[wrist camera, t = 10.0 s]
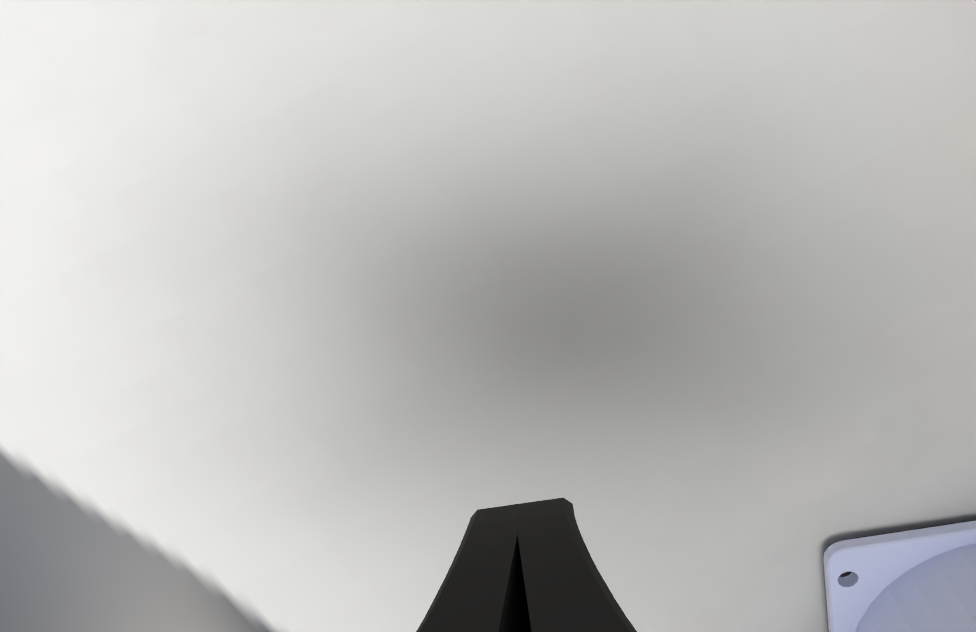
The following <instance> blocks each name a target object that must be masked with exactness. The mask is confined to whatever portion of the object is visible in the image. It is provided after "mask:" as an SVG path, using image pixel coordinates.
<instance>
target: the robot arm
mask: <svg viewBox="0 0 976 632" xmlns="http://www.w3.org/2000/svg"><path fill="white" fill-rule="evenodd" d="M823 560H824V573H825V587H826V600H827V614H828V627H829V632H976V521H969V522H963V523H956V524H949V525H943V526H936V527H929V528H923V529H916V530H909V531H903V532H896V533H889V534H883V535H876V536H869V537H863V538H856V539H849V540H843V541H839V542H836V543H834V544H832V545H831V546H829V547H828V548H827V550H826V551H825V553H824V558H823ZM847 571H850V572H852V573H850V574H849V575H848V576H845V577H839V576H840V575H841V574H842V573H844V572H847ZM416 632H637V631H636V630H635V629H634V627H633V626H632V624H631V623H630V621H629V620H628V619H627V617H626V616H625V614H624V613H623V611H622V609H621V608H620V606H619V605H618V603H617V602H616V600H615V599H614V597H613V595H612V593H611V592H610V590H609V588H608V587H607V585H606V583H605V581H604V580H603V578H602V576H601V575H600V573H599V571H598V569H597V568H596V566H595V564H594V562H593V560H592V558H591V556H590V554H589V552H588V550H587V547H586V545H585V543H584V541H583V539H582V536H581V534H580V531H579V529H578V526H577V523H576V520H575V516H574V510H573V504H572V503H571V502H569V501H568V500H566V499H565V498H558V499H551V500H544V501H536V502H529V503H522V504H515V505H508V506H501V507H494V508H487V509H480V510H477V511H476V512H475V513H474V515H473V516H472V517H471V519H470V522H469V525H468V527H467V530H466V532H465V535H464V537H463V540H462V542H461V545H460V547H459V549H458V552H457V554H456V556H455V558H454V560H453V562H452V565H451V567H450V569H449V571H448V573H447V575H446V577H445V579H444V581H443V583H442V585H441V587H440V589H439V591H438V593H437V595H436V597H435V599H434V601H433V603H432V605H431V606H430V608H429V610H428V612H427V614H426V616H425V618H424V620H423V621H422V623H421V625H420V627H419V628H418V630H417V631H416Z"/></svg>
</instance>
